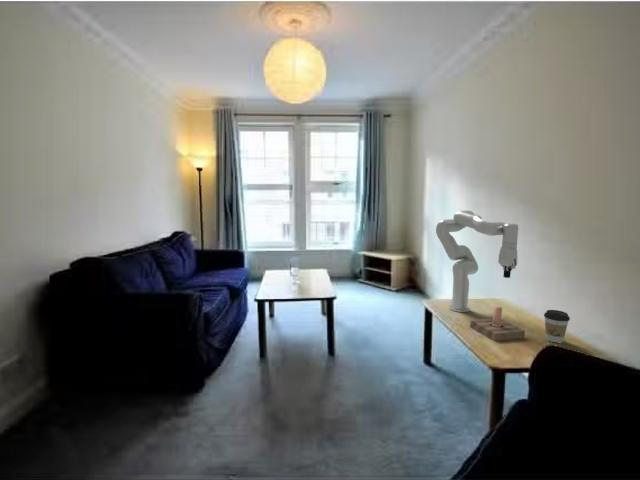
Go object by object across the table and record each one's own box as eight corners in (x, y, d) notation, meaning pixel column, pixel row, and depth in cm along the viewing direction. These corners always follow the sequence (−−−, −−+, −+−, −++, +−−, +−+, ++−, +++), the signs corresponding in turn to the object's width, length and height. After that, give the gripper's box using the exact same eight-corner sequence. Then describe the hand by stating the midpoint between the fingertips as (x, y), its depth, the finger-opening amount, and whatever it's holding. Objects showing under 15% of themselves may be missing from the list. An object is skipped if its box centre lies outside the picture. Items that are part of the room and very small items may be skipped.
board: (470, 327, 214) (470, 320, 213) (497, 324, 218) (498, 318, 217) (494, 340, 194) (494, 333, 194) (524, 338, 199) (524, 330, 198)
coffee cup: (540, 341, 194) (543, 313, 192) (542, 335, 204) (544, 307, 202) (567, 347, 188) (570, 317, 186) (567, 339, 197) (570, 311, 195)
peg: (490, 331, 208) (491, 306, 206) (496, 330, 209) (498, 305, 207) (495, 334, 204) (497, 308, 202) (502, 333, 205) (504, 308, 203)
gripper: (494, 243, 221) (492, 274, 224) (513, 247, 207) (510, 280, 209) (505, 243, 223) (503, 274, 225) (524, 247, 209) (522, 280, 211)
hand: (506, 277), depth 217 cm, fingers closed
